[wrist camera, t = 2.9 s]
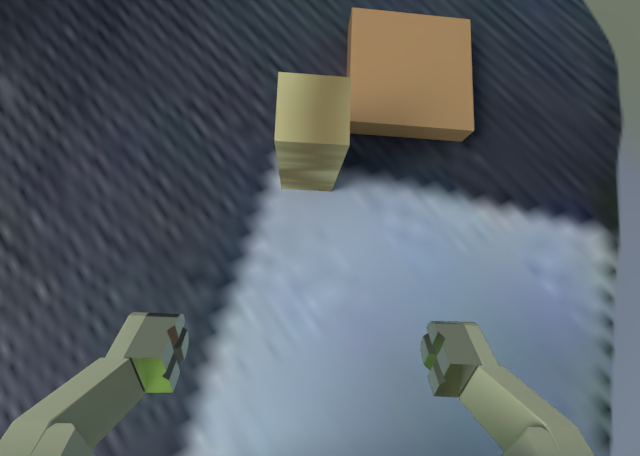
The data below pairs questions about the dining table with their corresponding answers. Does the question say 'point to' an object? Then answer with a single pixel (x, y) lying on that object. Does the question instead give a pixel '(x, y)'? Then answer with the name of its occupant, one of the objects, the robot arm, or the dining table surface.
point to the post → (311, 129)
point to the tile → (410, 75)
